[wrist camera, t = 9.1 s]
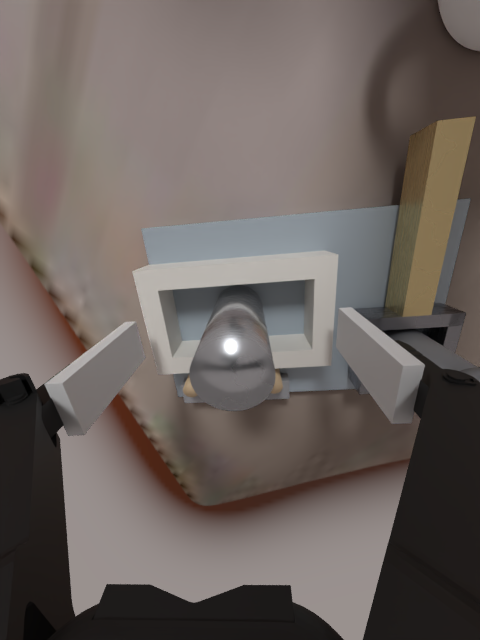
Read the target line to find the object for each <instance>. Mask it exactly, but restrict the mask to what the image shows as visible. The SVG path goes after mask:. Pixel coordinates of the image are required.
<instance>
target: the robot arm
mask: <svg viewBox="0 0 480 640" xmlns="http://www.w3.org/2000/svg"><path fill="white" fill-rule="evenodd" d="M336 348H337V349H338V351H339V352H340V353H341V355H342V356H343V357H344V359H345V360H346V362H347V363H348V364H349V366H350V367H351V368H352V370H353V371H354V373H355V374H356V375H357V377H358V378H359V380H360V381H361V382H362V384H363V385H364V386H365V388H366V389H367V391H368V392H369V393H370V395H371V396H372V397H373V399H374V400H375V402H376V403H377V404H378V406H379V407H380V408H381V410H382V411H383V413H384V414H385V415H386V417H387V418H388V419H389V421H390V422H391V424H406V423H412V418H413V414H414V411H415V412H416V414H417V415H418V416H419V417H420V418H421V420H420V424H419V428H418V432H417V436H416V440H415V443H414V447H413V451H412V455H411V459H410V463H409V467H408V470H407V474H406V478H405V482H404V486H403V490H402V493H401V497H400V501H399V505H398V508H397V512H396V516H395V520H394V524H393V528H392V532H391V536H390V539H389V543H388V546H387V550H386V554H385V557H384V561H383V565H382V569H381V572H380V576H379V580H378V584H377V588H376V592H375V595H374V599H373V603H372V607H371V611H370V615H369V618H368V622H367V626H366V630H365V634H364V638H363V640H480V382H479V381H478V380H477V379H476V378H474V377H472V376H470V375H468V374H466V373H463V372H460V371H457V370H451V369H442V368H440V367H439V366H438V365H436V364H435V363H434V362H432V361H431V360H429V359H428V358H427V357H425V356H423V354H421V353H420V352H419V351H417V350H416V349H414V348H413V347H412V346H410V345H409V344H407V343H404V342H402V341H399V340H393V339H391V338H390V337H389V336H387V335H386V334H385V333H384V332H382V331H381V330H380V329H378V328H377V327H376V326H375V325H373V324H372V323H371V322H370V321H368V320H367V319H366V318H364V317H363V316H362V315H361V314H359V313H358V312H357V311H356V310H354V309H353V308H352V307H347V308H339V311H338V325H337V339H336ZM144 359H145V354H144V350H143V346H142V342H141V339H140V335H139V331H138V327H137V323H136V322H125V323H123V324H122V325H121V326H119V327H118V328H117V329H115V330H114V331H113V332H112V333H110V334H109V335H108V336H106V337H105V338H104V339H102V340H101V341H100V342H99V343H97V344H96V345H95V346H93V347H92V348H91V349H89V350H88V351H87V352H86V353H84V354H83V355H82V356H80V357H79V358H78V359H76V360H75V361H74V362H73V363H71V364H69V365H68V366H67V367H65V368H64V369H63V370H62V371H60V372H59V373H57V374H56V375H55V376H53V377H52V378H51V379H50V380H48V381H47V382H46V383H44V384H43V385H42V386H40V387H39V388H38V389H35V386H34V384H33V382H32V380H31V378H30V376H29V374H25V373H23V374H16V375H12V376H9V377H6V378H3V379H1V380H0V640H343V638H341V636H340V635H339V634H338V633H337V632H336V631H335V630H334V629H333V628H332V627H331V626H330V625H329V624H328V623H326V622H325V621H324V620H322V619H321V618H320V617H319V616H317V615H316V614H315V613H313V612H311V611H310V610H308V609H306V608H305V607H303V606H300V605H298V604H296V603H293V602H292V594H291V586H290V585H243V586H240V587H237V588H235V589H232V590H229V591H227V592H224V593H221V594H219V595H216V596H213V597H211V598H208V599H205V600H202V601H200V602H196V603H192V602H188V601H186V600H184V599H181V598H179V597H177V596H175V595H172V594H170V593H168V592H166V591H163V590H161V589H159V588H157V587H154V586H152V585H130V584H129V585H128V584H127V585H121V584H120V585H119V584H107V585H106V587H105V590H104V593H103V595H102V598H101V600H100V603H99V604H97V605H95V606H93V607H91V608H89V609H87V610H85V611H84V612H82V613H81V614H79V615H77V616H76V617H75V614H74V610H73V606H72V599H71V586H70V573H69V558H68V545H67V531H66V518H65V503H64V490H63V476H62V462H61V449H60V438H59V436H58V434H57V431H58V430H59V429H60V428H61V427H62V426H64V428H65V430H66V432H67V434H68V436H71V435H72V436H73V435H85V434H86V433H87V431H88V430H89V429H90V427H91V426H92V425H93V424H94V422H95V421H96V420H97V419H98V417H99V416H100V415H101V413H102V412H103V411H104V410H105V408H106V407H107V406H108V405H109V403H110V402H111V401H112V399H113V398H114V397H115V396H116V394H117V393H118V392H119V391H120V389H121V388H122V387H123V386H124V384H125V383H126V382H127V381H128V379H129V378H130V377H131V376H132V374H133V373H134V372H135V370H136V369H137V368H138V367H139V365H140V364H141V363H142V362H143V360H144Z"/></svg>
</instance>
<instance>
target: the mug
mask: <svg viewBox="0 0 480 640" xmlns="http://www.w3.org/2000/svg"><path fill="white" fill-rule="evenodd" d="M438 5H439V11H440V14H441V17H442V20H443V23H444V25H445V27H446V29H447V31H448V32H449V33H450V35H451V36H452V37H453V38H454V39H455V40H456V41H457V42H458V43H459V44H461V45H462V46H464V47H466V48H469V49H471V50H475V51H480V0H438Z"/></svg>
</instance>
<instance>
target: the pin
mask: <svg viewBox="0 0 480 640" xmlns="http://www.w3.org/2000/svg"><path fill="white" fill-rule="evenodd" d="M189 376H190V382H191V385H192V387H193V389H194V391H195V392H196V394H197V395H198V396H199V397H200V398H201V399H202V400H203V401H204V402H206V403H207V404H209V405H211V406H213V407H215V408H218V409H221V410H226V411H242V410H247V409H250V408H252V407H255V406H257V405H258V404H260V403H261V402H263V401H264V400H265V399H266V398H267V397H268V396H269V394H270V393H271V391H272V389H273V387H274V384H275V378H276V374H275V367H274V362H273V357H272V352H271V346H270V341H269V336H268V331H267V326H266V321H265V316H264V310H263V305H262V301H261V299H260V297H259V295H258V294H257V293H256V292H255V291H254V290H253V289H251V288H249V287H247V286H243V285H235V286H231V287H229V288H227V289H225V290H224V291H223V292H222V293H221V294H220V295H219V297H218V299H217V301H216V304H215V306H214V309H213V311H212V314H211V316H210V318H209V321H208V323H207V326H206V328H205V331H204V333H203V335H202V338H201V340H200V343H199V345H198V348H197V350H196V352H195V355H194V357H193V360H192V362H191V365H190V370H189Z"/></svg>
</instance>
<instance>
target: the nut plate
mask: <svg viewBox="0 0 480 640" xmlns="http://www.w3.org/2000/svg"><path fill="white" fill-rule="evenodd" d="M470 200H471V198H469V199H458V200H457V203H456V208H455V212H454V216H453V221H452V225H451V230H450V234H449V239H448V243H447V248H446V252H445V256H444V261H443V265H442V270H441V274H440V279H439V283H438V287H437V292H436V296H435V301H434V303H442V304H445V303H446V299H447V294H448V290H449V286H450V282H451V278H452V274H453V270H454V266H455V262H456V258H457V253H458V249H459V245H460V241H461V237H462V233H463V229H464V225H465V221H466V217H467V212H468V208H469V204H470ZM399 208H400V205H392V206H382V207H371V208H360V209H349V210H338V211H327V212H316V213H305V214H295V215H284V216H273V217H262V218H251V219H240V220H229V221H218V222H208V223H197V224H186V225H175V226H164V227H153V228H142V229H141V230H142V234H143V239H144V243H145V248H146V252H147V257H148V262H149V265H147V266H145V267H142V268H139V269H137V270H134V271H132V272H133V276H134V280H135V284H136V288H137V292H138V296H139V300H140V304H141V308H142V313H143V317H144V321H145V325H146V329H147V333H148V337H149V341H150V345H151V349H152V353H153V357H154V361H155V365H156V369H157V373H158V375H161V374H173V375H174V380H175V384H176V389H177V393H178V397H183V398H184V402H185V403H199V402H204V401H203V400H202V399H201V398H200V397H199V396H198V395H197V394H196V392H195V391H194V389H193V387H192V385H191V382H190V376H189V370H190V365H191V362H192V360H193V357H194V355H195V352H196V350H197V348H198V345H199V343H200V340H201V338H202V335H203V333H204V331H205V328H206V326H207V323H208V321H209V318H210V316H211V314H212V311H213V309H214V306H215V304H216V301H217V299H218V297H219V295H220V294H221V293H222V292H223V291H224V290H225V289H227V288H229V287H231V286H235V285H243V286H247V287H249V288H251V289H253V290H254V291H255V292H256V293H257V294H258V295H259V297H260V299H261V301H262V305H263V310H264V316H265V321H266V326H267V331H268V336H269V341H270V346H271V352H272V357H273V362H274V367H275V374H276V378H275V384H274V387H273V389H272V391H271V393H270V394H269V396H268V397H267V398H266V399H265V400H268V399H289V392H298V391H320V390H342V389H356V388H355V387H354V385H353V384H352V382H351V381H350V379H349V378H348V375H349V364H348V363H347V362H346V360H345V359H344V357H343V356H342V355H341V353H340V352H339V351H338V349H337V348H336V339H337V325H338V311H339V308H347V307H352V308H353V309H354V310H355V309H356V308H371V307H385V303H386V296H387V289H388V282H389V276H390V269H391V262H392V255H393V248H394V242H395V235H396V228H397V221H398V214H399ZM422 330H423V328H416V329H399V330H383V331H382V332H384V333H385V334H386V335H387V336H389V337H390V338H391V339H393V340H399V341H402V342H404V343H407V344H409V345H410V346H412V347H413V348H414V349H416V350H417V351H419V352H420V353H421V354H423V356H425V357H427V358H428V359H429V360H431V361H432V362H434V363H435V364H436V365H438V366H439V367H440V368H442V369H451V370H457V371H460V372H463V373H466V374H468V375H470V376H472V377H474V378H476V379H477V380H478V381H479V382H480V367H477V366H475V365H473V364H472V363H470V362H468V361H467V360H465V359H463V358H462V357H460V356H459V355H457V354H455V353H454V352H452V351H450V350H449V349H447V348H446V347H444V346H442V345H441V344H439V343H437V342H436V341H434V340H432V339H431V338H429V337H428V336H426V335H424V334H423V333H422Z"/></svg>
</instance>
